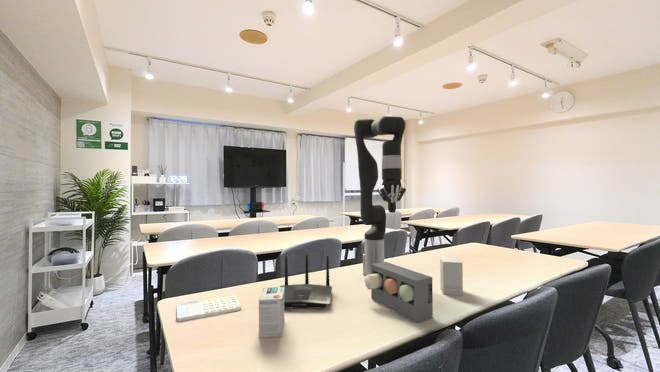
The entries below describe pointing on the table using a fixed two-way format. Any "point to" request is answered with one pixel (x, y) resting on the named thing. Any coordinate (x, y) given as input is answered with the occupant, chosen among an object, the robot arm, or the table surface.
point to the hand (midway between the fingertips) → (392, 212)
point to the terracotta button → (391, 286)
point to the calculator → (207, 308)
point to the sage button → (407, 292)
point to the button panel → (412, 309)
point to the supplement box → (451, 276)
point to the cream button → (374, 281)
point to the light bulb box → (271, 312)
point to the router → (307, 291)
